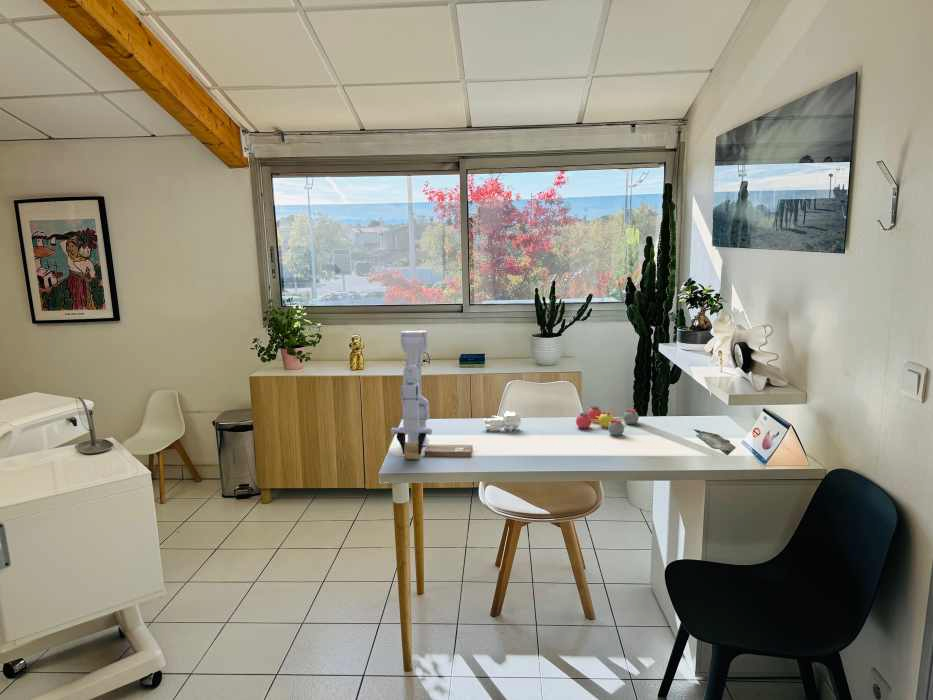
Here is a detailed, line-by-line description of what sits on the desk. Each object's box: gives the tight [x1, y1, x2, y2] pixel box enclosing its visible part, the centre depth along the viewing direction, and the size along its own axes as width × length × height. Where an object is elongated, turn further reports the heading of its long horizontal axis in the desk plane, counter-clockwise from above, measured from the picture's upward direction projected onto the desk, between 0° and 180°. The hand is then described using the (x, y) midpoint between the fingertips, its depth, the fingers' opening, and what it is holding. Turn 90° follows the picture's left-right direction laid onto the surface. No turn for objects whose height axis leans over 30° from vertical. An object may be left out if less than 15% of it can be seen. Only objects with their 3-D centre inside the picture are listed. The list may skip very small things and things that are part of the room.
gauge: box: [403, 441, 421, 460], centre depth 235 cm, size 7×5×5 cm
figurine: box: [483, 409, 522, 433], centre depth 268 cm, size 11×7×15 cm
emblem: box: [692, 428, 736, 456], centre depth 249 cm, size 32×10×1 cm, turn 2°
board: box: [424, 444, 473, 457], centre depth 241 cm, size 8×17×2 cm, turn 86°
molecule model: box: [575, 405, 640, 437], centre depth 271 cm, size 25×21×6 cm
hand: (412, 453), depth 234 cm, fingers closed on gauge, 5 cm apart
